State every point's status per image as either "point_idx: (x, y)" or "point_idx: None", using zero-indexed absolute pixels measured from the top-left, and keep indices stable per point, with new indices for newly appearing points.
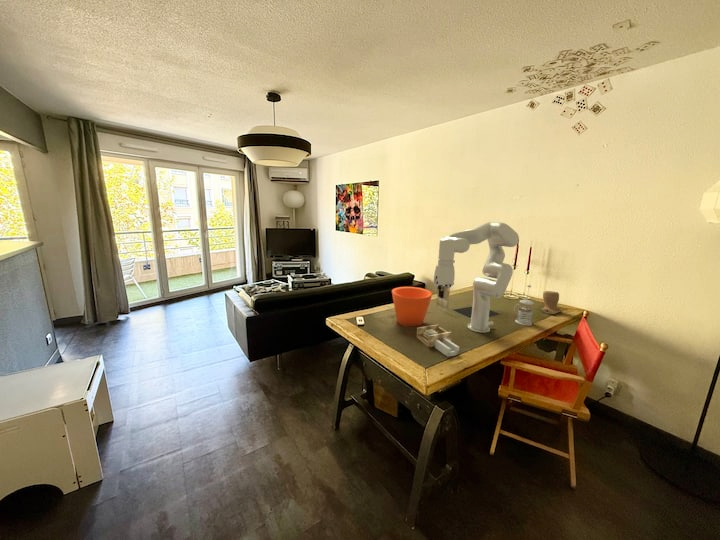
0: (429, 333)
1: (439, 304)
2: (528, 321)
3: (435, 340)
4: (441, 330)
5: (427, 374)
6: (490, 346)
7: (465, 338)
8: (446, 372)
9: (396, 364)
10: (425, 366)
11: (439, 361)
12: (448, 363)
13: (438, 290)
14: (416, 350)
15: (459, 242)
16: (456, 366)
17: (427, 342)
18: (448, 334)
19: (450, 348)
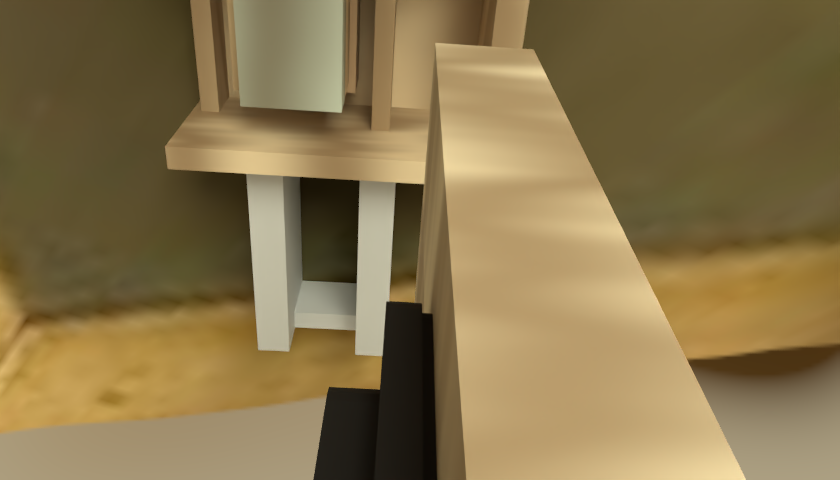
0: (239, 65)
1: (427, 190)
2: None
3: (247, 179)
4: (493, 15)
5: (9, 373)
6: (791, 289)
7: (760, 84)
8: (155, 399)
9: None
10: (37, 305)
11: (186, 295)
12: (239, 336)
13: (447, 382)
14: (68, 80)
15: None
16: (270, 379)
17: (201, 87)
18: None
19: (285, 347)
